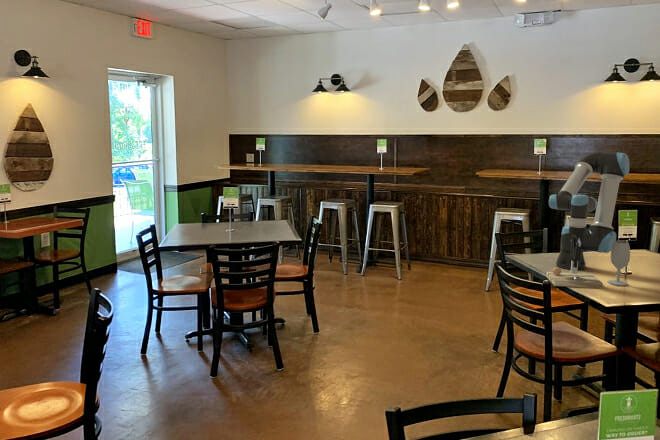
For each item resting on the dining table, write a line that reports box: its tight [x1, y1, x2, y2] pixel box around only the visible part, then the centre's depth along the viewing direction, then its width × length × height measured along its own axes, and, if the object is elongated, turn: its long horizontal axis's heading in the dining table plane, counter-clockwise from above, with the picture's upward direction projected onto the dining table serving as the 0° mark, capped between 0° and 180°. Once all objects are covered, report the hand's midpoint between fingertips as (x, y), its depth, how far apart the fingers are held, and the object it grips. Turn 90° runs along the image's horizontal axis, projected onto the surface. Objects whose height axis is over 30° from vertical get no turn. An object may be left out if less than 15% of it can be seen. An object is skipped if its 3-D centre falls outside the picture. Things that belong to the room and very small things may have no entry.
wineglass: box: [607, 240, 631, 287], centre depth 283 cm, size 9×9×21 cm
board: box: [545, 271, 604, 289], centre depth 287 cm, size 18×22×2 cm
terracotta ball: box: [552, 266, 562, 275], centre depth 290 cm, size 4×4×4 cm
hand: (573, 273), depth 287 cm, fingers closed
